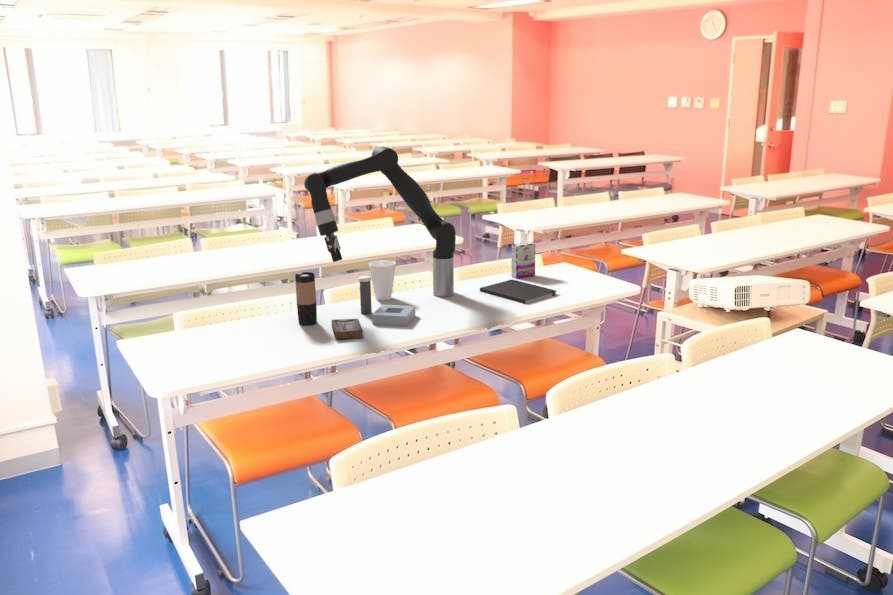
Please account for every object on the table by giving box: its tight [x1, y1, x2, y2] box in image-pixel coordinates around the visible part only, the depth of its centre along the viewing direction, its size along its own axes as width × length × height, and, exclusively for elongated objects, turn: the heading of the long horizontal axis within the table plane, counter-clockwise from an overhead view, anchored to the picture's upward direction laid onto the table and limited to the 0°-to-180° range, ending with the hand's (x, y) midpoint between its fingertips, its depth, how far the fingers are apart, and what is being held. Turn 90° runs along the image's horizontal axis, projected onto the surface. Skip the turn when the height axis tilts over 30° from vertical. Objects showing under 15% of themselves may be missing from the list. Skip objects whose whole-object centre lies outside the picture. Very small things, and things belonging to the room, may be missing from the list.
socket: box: [371, 303, 416, 327], centre depth 296 cm, size 14×14×4 cm
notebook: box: [479, 279, 557, 305], centre depth 333 cm, size 22×2×28 cm
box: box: [331, 318, 364, 340], centre depth 282 cm, size 11×17×3 cm, turn 13°
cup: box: [368, 259, 396, 301], centre depth 324 cm, size 12×12×16 cm
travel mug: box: [294, 271, 318, 327], centre depth 291 cm, size 8×8×20 cm
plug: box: [358, 275, 373, 315], centre depth 304 cm, size 5×5×15 cm
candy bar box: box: [511, 241, 536, 280], centre depth 359 cm, size 11×5×16 cm, turn 119°
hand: (337, 260), depth 298 cm, fingers open, 8 cm apart
